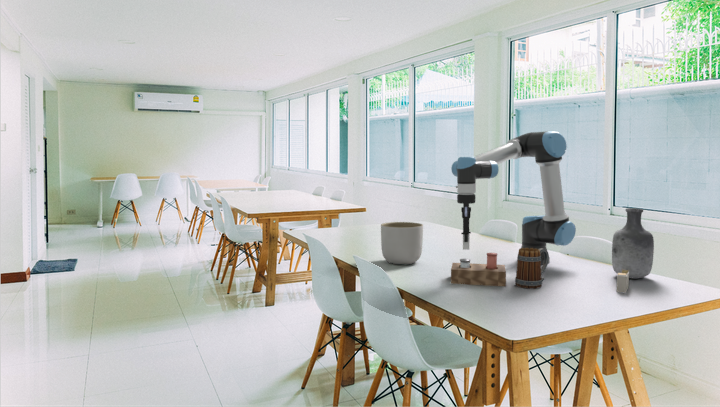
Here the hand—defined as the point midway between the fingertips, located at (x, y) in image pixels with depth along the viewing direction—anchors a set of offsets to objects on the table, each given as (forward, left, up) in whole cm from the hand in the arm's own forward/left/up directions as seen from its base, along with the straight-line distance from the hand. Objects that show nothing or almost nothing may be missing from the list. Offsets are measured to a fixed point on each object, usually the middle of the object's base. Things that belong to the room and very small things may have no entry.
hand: (466, 249), depth 224 cm
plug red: (-11, 0, -10) cm, 15 cm away
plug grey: (0, 0, -14) cm, 14 cm away
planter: (+32, -31, -14) cm, 46 cm away
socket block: (-5, 0, -13) cm, 14 cm away
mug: (-27, +2, -14) cm, 31 cm away
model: (-61, +2, -14) cm, 63 cm away
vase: (-70, -21, -14) cm, 74 cm away
